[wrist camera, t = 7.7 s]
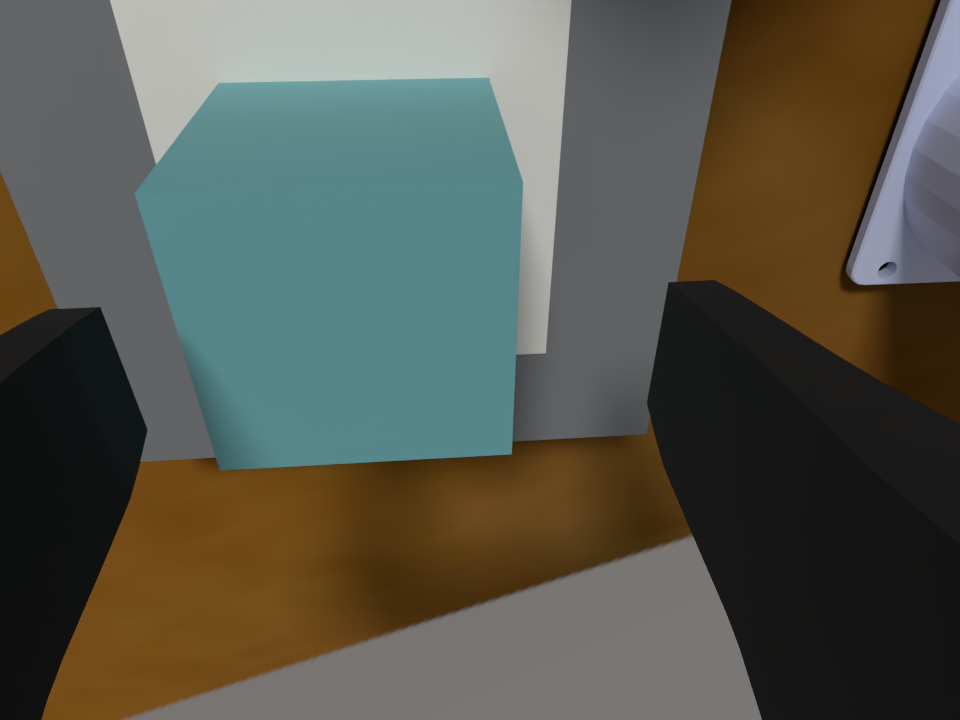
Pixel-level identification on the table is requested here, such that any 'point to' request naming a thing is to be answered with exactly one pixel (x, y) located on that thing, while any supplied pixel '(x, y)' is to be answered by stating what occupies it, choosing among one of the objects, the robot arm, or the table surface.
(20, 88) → the white-inset grey tile
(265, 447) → the teal cube
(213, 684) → the table surface
